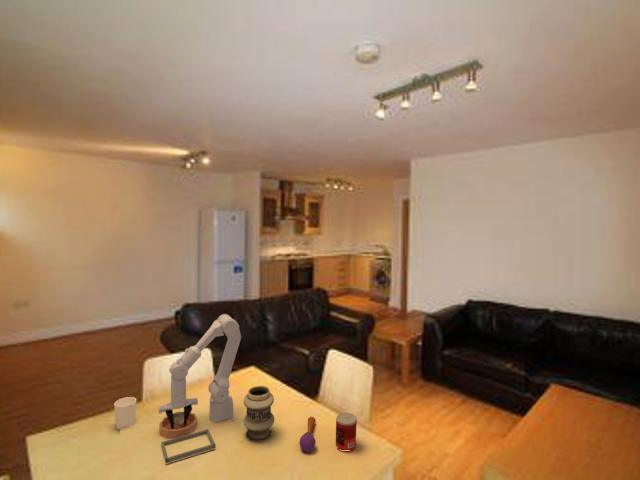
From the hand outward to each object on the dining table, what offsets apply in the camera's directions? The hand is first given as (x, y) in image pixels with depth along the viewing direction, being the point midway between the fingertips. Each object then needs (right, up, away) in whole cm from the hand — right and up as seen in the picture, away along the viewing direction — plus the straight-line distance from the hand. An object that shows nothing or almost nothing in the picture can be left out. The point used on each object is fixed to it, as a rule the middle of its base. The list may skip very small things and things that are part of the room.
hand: (178, 425), depth 144 cm
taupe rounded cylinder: (0, -1, 0) cm, 1 cm away
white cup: (-23, -2, +3) cm, 23 cm away
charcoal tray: (+8, -3, -11) cm, 14 cm away
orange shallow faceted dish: (0, -2, 0) cm, 2 cm away
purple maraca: (+53, -4, -3) cm, 53 cm away
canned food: (+67, -4, -7) cm, 67 cm away
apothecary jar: (+32, -3, -1) cm, 33 cm away
